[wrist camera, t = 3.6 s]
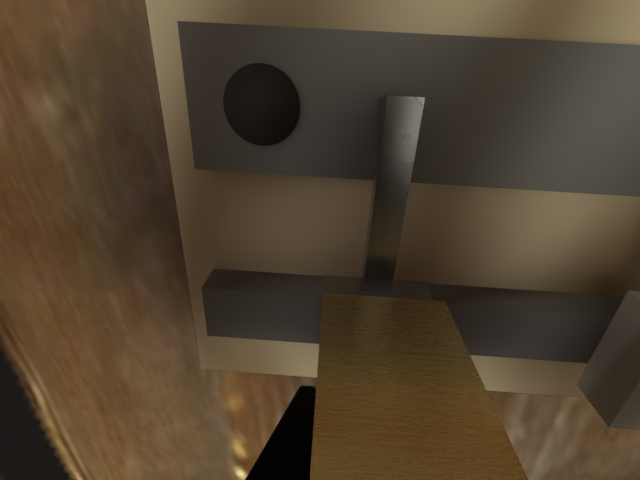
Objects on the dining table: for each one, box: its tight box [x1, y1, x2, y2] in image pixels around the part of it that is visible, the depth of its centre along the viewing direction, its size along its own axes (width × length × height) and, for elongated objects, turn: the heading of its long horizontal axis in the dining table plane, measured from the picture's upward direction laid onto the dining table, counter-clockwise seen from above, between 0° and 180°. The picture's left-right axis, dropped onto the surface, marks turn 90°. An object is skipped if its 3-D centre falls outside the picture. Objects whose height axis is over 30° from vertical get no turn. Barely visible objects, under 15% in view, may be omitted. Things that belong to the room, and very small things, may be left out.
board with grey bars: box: [145, 0, 640, 430], centre depth 10 cm, size 18×14×4 cm
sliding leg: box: [310, 94, 528, 480], centre depth 7 cm, size 3×10×8 cm, turn 177°
